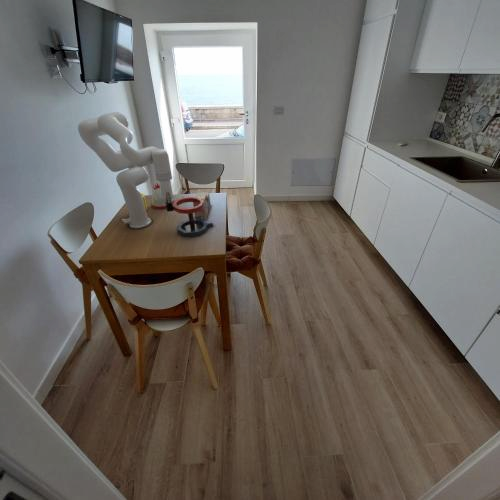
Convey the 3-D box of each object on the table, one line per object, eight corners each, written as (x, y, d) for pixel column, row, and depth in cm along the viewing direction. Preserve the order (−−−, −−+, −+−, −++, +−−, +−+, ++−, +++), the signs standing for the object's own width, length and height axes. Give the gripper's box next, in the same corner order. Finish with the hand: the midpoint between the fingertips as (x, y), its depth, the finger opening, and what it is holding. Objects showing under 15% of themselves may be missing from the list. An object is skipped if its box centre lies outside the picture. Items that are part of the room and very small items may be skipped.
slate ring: (209, 219, 163) (209, 216, 162) (215, 232, 151) (215, 228, 150) (177, 225, 158) (176, 222, 157) (180, 238, 146) (180, 235, 144)
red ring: (168, 216, 137) (167, 212, 136) (165, 204, 150) (164, 200, 148) (206, 210, 143) (205, 206, 141) (200, 199, 155) (199, 195, 154)
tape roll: (148, 206, 182) (145, 192, 177) (146, 212, 174) (142, 198, 168) (133, 207, 181) (129, 194, 175) (130, 214, 172) (126, 200, 167)
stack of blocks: (201, 205, 181) (199, 187, 174) (210, 205, 181) (208, 187, 174) (195, 220, 163) (192, 201, 156) (205, 220, 163) (203, 201, 156)
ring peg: (187, 234, 150) (183, 215, 143) (184, 227, 156) (181, 209, 150) (201, 231, 152) (198, 212, 146) (198, 225, 158) (196, 206, 152)
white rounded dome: (170, 208, 177) (165, 186, 169) (149, 208, 178) (143, 187, 170) (175, 200, 189) (171, 179, 181) (156, 200, 190) (151, 179, 181)
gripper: (154, 171, 139) (161, 205, 149) (157, 182, 126) (164, 217, 137) (169, 170, 141) (175, 203, 151) (173, 180, 128) (179, 215, 139)
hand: (170, 209), depth 144 cm, fingers closed on red ring, 2 cm apart
